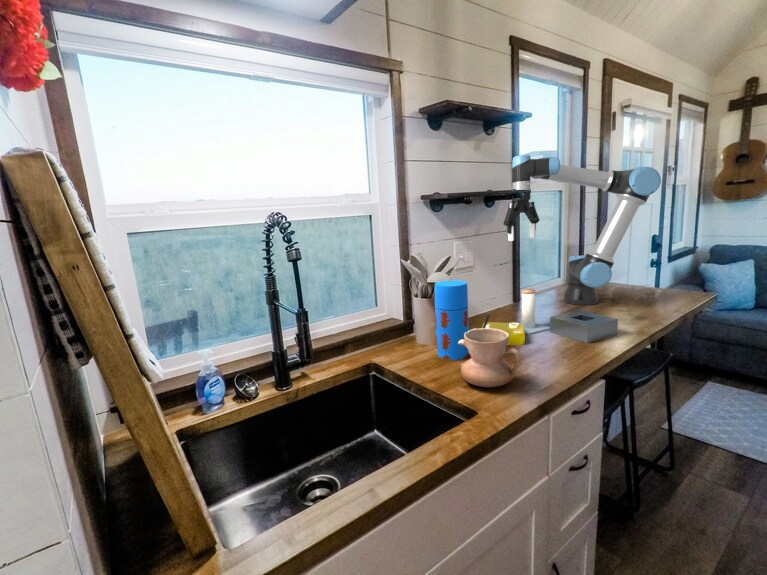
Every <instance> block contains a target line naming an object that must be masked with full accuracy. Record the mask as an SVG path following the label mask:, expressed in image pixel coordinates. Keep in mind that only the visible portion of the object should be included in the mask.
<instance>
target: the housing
mask: <svg viewBox="0 0 767 575" xmlns="http://www.w3.org/2000/svg"><path fill="white" fill-rule="evenodd" d="M618 323H619V319H618V318H616V317H611V316H606V315H602V314H597V313H594V312H589V311H584V310H580V309H579V310H575V311H574V310H573V311H569V312H564V313H561V314H557V315H553V316H550V317H549V327H550V330H549V332H550V333H552V334H555V335H559V336H562V337H566V338H568V339H571V340H574V341H577V342H582V343H584V344H590V343H593V342H597V341H600V340H603V338H604V339H606V337H607V338H610V336H611V337H614V336H617V335H618V328H619V327H618V325H619V324H618ZM613 335H614V336H613Z"/></svg>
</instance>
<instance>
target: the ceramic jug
mask: <svg viewBox="0 0 767 575" xmlns="http://www.w3.org/2000/svg"><path fill="white" fill-rule="evenodd" d="M464 339H465V340H459V342H458V344H460V345H464V346H465V347H466V348H468V354H469V356H470V358H469V359H467V360H466V361H464V362H463V363H461V364H460V367H461V368H460V373H461V376H462V377H463V379H464V380H465V381H466V382H467V383H469V384H470V385H474V386H476V387H480V388H481V387H482V388H497V387H502V386H504V385H507V384H508V383H510V382H511V381H512V380H513V379H514V378H515V375H516V372H517V371H518V369H519V368H520V366H521V361H522V356H521V353H520V352H519V350H518V349H516V348H514V347H508V346H509V345H508V340H509V334H508V333H507V332H505V331H502V330H499V329H492V328H482V327H481V328H476V329H475V328H473V329H470V330H469V329H468V332H465V334H464ZM507 354H513V355H514V357H515V363H514V366H513V367H512V365H511V364H510V363H508V362H507V360H504V359H503V357H504V356H506V355H507Z"/></svg>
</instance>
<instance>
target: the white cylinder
mask: <svg viewBox="0 0 767 575" xmlns="http://www.w3.org/2000/svg"><path fill="white" fill-rule="evenodd" d="M521 322H522V324H523V327H524V328H527V329H531V328H535V323H536V290H535V289H534V288H533V289H531V288H524V289H522V290H521Z"/></svg>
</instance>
